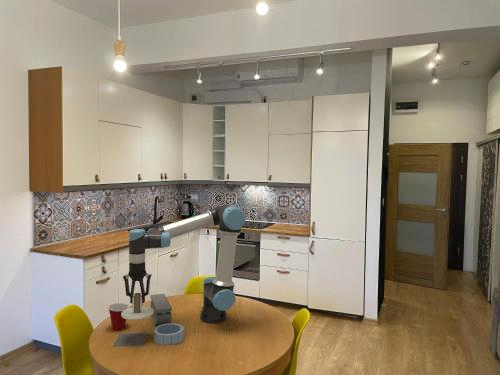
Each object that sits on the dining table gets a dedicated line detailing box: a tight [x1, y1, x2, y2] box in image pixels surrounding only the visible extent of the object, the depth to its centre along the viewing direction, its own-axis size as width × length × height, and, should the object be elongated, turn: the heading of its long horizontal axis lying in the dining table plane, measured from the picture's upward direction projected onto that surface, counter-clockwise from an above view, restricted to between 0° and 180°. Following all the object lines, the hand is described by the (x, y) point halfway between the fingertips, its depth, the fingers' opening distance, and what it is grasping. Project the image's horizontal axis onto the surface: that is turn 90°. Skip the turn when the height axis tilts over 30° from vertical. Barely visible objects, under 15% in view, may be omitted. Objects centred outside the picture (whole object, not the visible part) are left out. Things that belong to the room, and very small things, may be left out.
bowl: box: [153, 322, 185, 346], centre depth 180 cm, size 14×14×5 cm
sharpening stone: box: [150, 293, 173, 326], centre depth 202 cm, size 25×8×11 cm, turn 22°
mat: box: [112, 332, 149, 348], centre depth 179 cm, size 14×14×1 cm
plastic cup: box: [107, 302, 131, 331], centre depth 191 cm, size 11×11×12 cm
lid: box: [121, 292, 154, 321], centre depth 178 cm, size 15×15×10 cm
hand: (137, 309), depth 179 cm, fingers closed on lid, 3 cm apart
